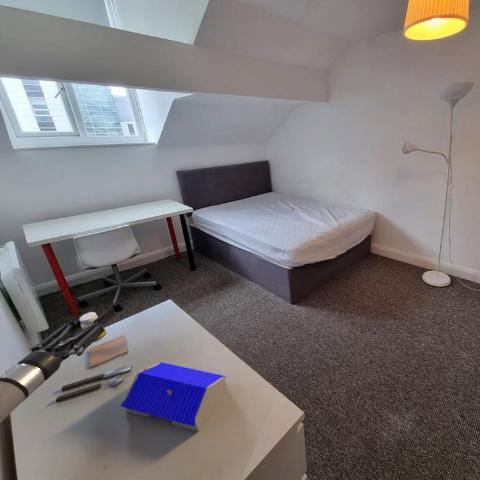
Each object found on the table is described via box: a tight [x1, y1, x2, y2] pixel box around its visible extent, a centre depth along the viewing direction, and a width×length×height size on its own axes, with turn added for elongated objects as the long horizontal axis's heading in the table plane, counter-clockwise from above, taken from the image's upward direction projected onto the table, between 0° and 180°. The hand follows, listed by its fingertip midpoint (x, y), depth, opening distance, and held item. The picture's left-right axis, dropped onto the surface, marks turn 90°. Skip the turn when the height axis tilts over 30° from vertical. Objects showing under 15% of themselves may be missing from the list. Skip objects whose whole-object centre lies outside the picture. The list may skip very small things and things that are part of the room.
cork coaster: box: [88, 334, 129, 369], centre depth 90 cm, size 10×10×1 cm
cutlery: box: [55, 364, 133, 403], centre depth 78 cm, size 17×6×1 cm, turn 113°
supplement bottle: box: [78, 312, 108, 343], centre depth 83 cm, size 5×5×8 cm
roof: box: [120, 362, 228, 432], centre depth 72 cm, size 22×14×7 cm, turn 76°
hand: (103, 311), depth 87 cm, fingers closed on supplement bottle, 5 cm apart
